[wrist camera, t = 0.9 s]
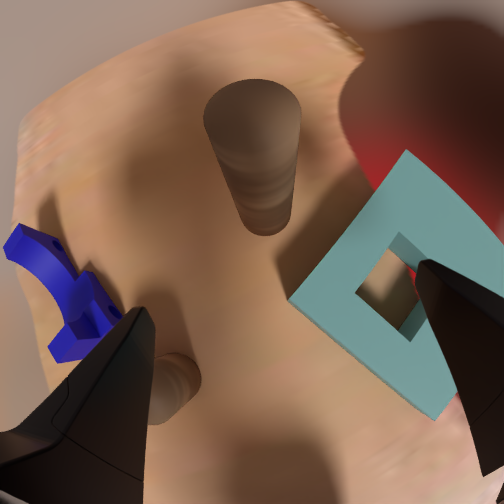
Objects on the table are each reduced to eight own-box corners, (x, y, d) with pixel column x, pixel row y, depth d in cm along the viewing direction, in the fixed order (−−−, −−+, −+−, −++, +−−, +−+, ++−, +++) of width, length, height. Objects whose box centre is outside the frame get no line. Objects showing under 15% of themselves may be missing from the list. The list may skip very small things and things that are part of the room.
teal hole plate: (497, 273, 20) (520, 267, 17) (416, 408, 19) (434, 421, 15) (392, 168, 23) (405, 149, 20) (287, 300, 22) (289, 298, 18)
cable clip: (130, 324, 22) (89, 326, 17) (100, 355, 22) (57, 363, 16) (67, 228, 25) (28, 210, 19) (43, 259, 25) (2, 247, 19)
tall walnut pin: (301, 208, 23) (320, 107, 11) (268, 246, 23) (256, 170, 10) (262, 179, 24) (248, 67, 12) (229, 214, 23) (184, 120, 11)
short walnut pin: (211, 377, 21) (189, 399, 15) (180, 409, 21) (151, 436, 15) (174, 342, 22) (140, 351, 16) (145, 375, 21) (107, 390, 15)
